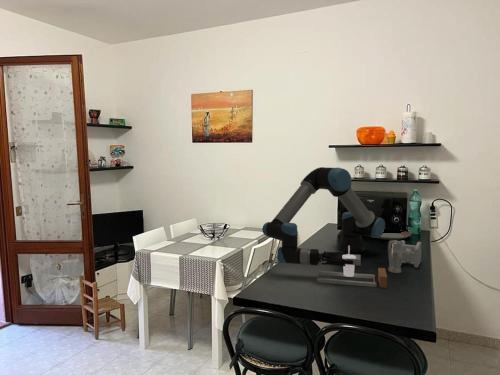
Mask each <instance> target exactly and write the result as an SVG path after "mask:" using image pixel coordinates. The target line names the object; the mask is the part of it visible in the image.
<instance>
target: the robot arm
mask: <svg viewBox="0 0 500 375" xmlns="http://www.w3.org/2000/svg"><path fill="white" fill-rule="evenodd" d="M352 182H353V180H352V176H351V173H350V172H349V171H348V170H347V169H346V168H342V167H341V168H340V167H324V166H323V167H317V168H315V169H312V171H310V172H309V173H308V174H307V175H306V176H304V178H303V179H302V180H301V182H300V183H299V184H300V185H299V187H298V188H297V189H296V190H295V192H294V193H293V194H292V196H291V197H290V198H289V199H288V201H287V202H286V203H285V204H284V205H283V207H282V208H281V209H280V210H279V211H278V213H277V214H276V215H275V217H274V218H273V219H272V220H271V221H267V222H265V223H264V224H263V226H262V233H263V235H264V236H265V237H268V238H271V239H273V240H277V241H280V242H281V246H280V247H278V249H277V253H276V254H277V256H276V258H277V261H278V263H283V264H291V265H293V264H294V265H303V266H305V265H308V266H309V265H311V266H318V265H319V263H321V265H323V266H324V265H329V266H338V267H339V266H340V267H343V266H345V264H346V265H355V266H362V264H361V260H362V259H361V256H362V255H361V254H353V253H362V252H364V251H365V244H364V241H363V238H362V236H363V237H364V236H365V237H370V238H375V239H379V237H380V236H381V235H382V234H383V232H384V229H386V222H385V219H383V218H382V217H378V216H376V214H375V213H374V211H372V210H368V208H367V207H366V206H365V204H364V203H363V202H362V201H361V199H360V198H359V196H358V195H357V194H356V192H355V191H354V190H353V189H352ZM319 190H326V191H329V193H330V194H331V195H332V196H333V197H334V198H337V199H339V201H340V202H341V204H342V205H343V206H344V207H345V208H346V209H347V211H345V212H343V213H342V215H341V238H340V240H339V244H338V250H339V251H340V252H339V251H338V252H337V251H325V250H324V251H323V252H322V253H321V252H319V249H318V248H315V249H314V248H311V249H310V248H303V247H302V248H299V247H298V243H299V242H298V237H299V236H298V234H299V232H298V225H297V223H295V222H291V221H292V219H294V218H295V216H296V215H297V214H298V212H299V211H300V210H301V208H302V207H303V206H304V205H305V203H306V202H308V199H309V198H310V197H311V196H312V195H314V194H316V192H317V191H319ZM349 246H350V253H352V254H350V253H349V255H354V256H356V259H350V258H346V259H343V258H342V255H347V254H348V249H349Z"/></svg>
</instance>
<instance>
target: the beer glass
mask: <svg viewBox="0 0 500 375" xmlns="http://www.w3.org/2000/svg"><path fill="white" fill-rule="evenodd" d="M387 241H388V242H387V243H388V244H387V256H388V262H389V264H388V269H387V271H388V272H389V273H391V274H400V273H402V264H401V260H402V255H403V242H401V240H387Z"/></svg>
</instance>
